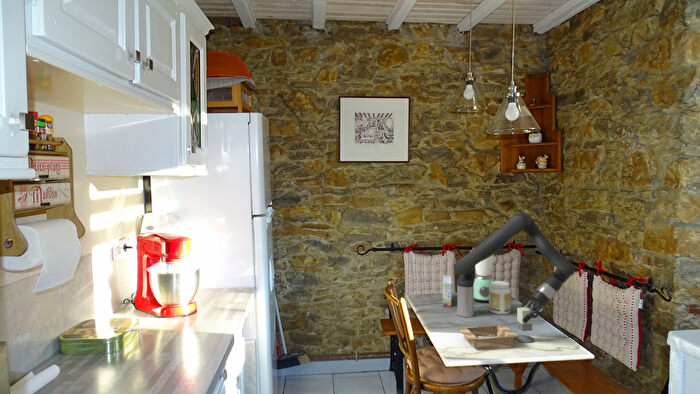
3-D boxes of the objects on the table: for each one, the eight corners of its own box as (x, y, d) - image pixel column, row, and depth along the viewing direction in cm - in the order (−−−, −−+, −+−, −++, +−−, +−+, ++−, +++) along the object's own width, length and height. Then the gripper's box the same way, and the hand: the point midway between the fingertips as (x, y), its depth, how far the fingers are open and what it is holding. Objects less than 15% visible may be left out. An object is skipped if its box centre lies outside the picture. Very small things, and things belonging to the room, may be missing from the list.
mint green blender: (496, 304, 270) (496, 248, 268) (474, 304, 272) (474, 248, 270) (491, 295, 289) (491, 243, 286) (470, 295, 291) (470, 243, 288)
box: (517, 327, 216) (517, 307, 216) (526, 326, 217) (526, 307, 216) (522, 331, 211) (522, 310, 211) (532, 330, 212) (532, 310, 211)
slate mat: (511, 336, 218) (511, 335, 218) (527, 335, 219) (527, 334, 219) (520, 343, 209) (520, 342, 209) (537, 342, 211) (537, 341, 211)
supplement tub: (507, 308, 262) (507, 280, 261) (513, 314, 250) (513, 285, 249) (486, 308, 264) (487, 280, 263) (491, 314, 252) (491, 285, 251)
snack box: (452, 307, 266) (452, 283, 265) (442, 307, 267) (442, 283, 266) (451, 297, 287) (451, 275, 286) (442, 297, 288) (442, 274, 287)
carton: (457, 337, 218) (457, 327, 218) (503, 334, 221) (503, 324, 221) (469, 350, 203) (469, 339, 203) (519, 346, 206) (519, 336, 206)
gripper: (530, 285, 221) (508, 310, 220) (547, 293, 207) (523, 319, 206) (540, 295, 222) (518, 320, 221) (557, 303, 208) (533, 330, 207)
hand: (521, 319), depth 214 cm, fingers closed on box, 5 cm apart
